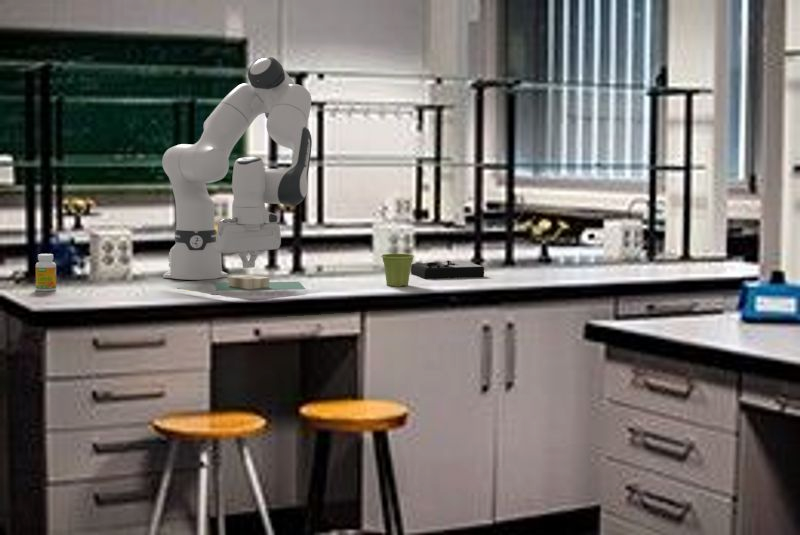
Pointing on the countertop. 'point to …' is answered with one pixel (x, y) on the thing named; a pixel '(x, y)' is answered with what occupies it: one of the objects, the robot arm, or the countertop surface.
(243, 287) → the brown wood block
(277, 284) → the green mat
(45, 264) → the supplement bottle
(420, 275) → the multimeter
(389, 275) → the plant pot
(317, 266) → the countertop surface
